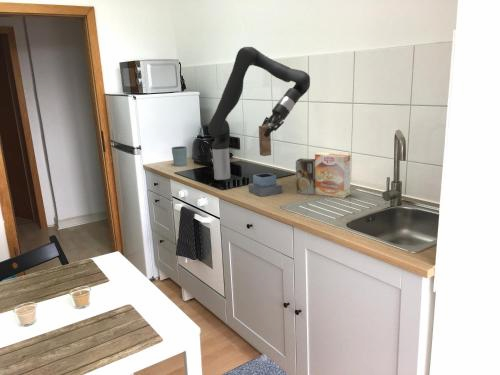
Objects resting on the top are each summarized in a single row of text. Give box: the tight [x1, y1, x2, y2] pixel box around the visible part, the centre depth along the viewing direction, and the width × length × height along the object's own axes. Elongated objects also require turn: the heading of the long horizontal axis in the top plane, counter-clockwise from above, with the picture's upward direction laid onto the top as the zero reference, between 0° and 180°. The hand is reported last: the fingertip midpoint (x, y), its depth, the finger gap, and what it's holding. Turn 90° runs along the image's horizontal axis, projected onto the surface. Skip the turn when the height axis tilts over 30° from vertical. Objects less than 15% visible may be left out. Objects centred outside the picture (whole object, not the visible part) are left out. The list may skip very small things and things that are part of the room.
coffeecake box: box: [314, 151, 352, 199], centre depth 198 cm, size 15×7×20 cm, turn 53°
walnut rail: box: [258, 124, 272, 157], centre depth 204 cm, size 4×4×14 cm
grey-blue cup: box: [171, 145, 188, 167], centre depth 284 cm, size 10×10×12 cm
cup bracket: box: [247, 172, 283, 198], centre depth 209 cm, size 12×12×8 cm
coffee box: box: [295, 158, 316, 196], centre depth 204 cm, size 9×6×16 cm
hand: (263, 135), depth 203 cm, fingers closed on walnut rail, 4 cm apart
